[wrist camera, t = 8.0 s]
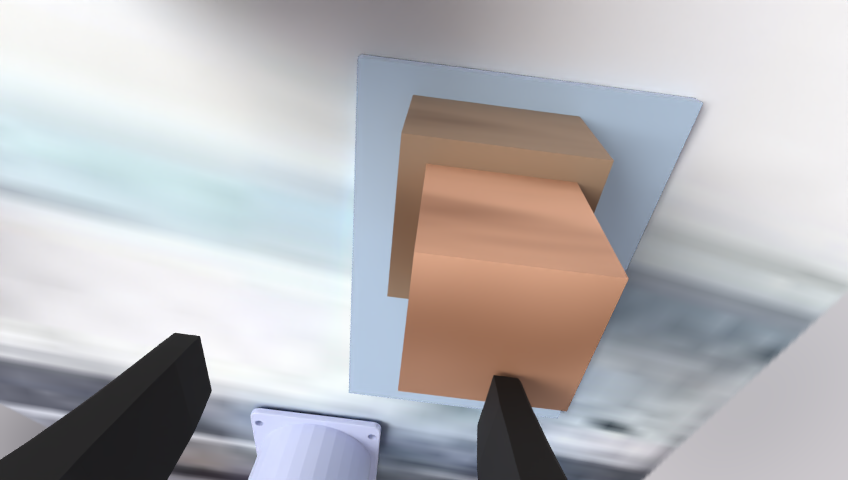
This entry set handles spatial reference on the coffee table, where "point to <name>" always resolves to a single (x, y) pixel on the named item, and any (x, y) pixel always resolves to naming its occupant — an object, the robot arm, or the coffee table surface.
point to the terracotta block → (506, 286)
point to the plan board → (401, 79)
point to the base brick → (485, 159)
